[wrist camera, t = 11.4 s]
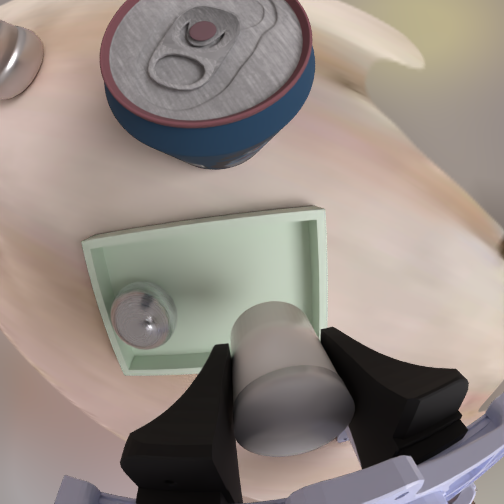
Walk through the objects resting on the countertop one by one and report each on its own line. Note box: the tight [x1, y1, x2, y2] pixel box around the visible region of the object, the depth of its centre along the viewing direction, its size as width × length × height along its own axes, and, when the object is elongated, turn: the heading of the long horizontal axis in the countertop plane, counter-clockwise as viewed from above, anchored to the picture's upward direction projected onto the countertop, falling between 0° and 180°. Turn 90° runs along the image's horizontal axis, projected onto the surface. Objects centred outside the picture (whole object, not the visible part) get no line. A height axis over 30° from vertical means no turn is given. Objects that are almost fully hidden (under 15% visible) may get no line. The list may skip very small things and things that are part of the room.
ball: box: [111, 281, 177, 350], centre depth 17 cm, size 5×5×5 cm
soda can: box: [100, 0, 315, 170], centre depth 11 cm, size 7×7×12 cm
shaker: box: [230, 301, 355, 457], centre depth 11 cm, size 4×4×6 cm
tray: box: [81, 206, 328, 376], centre depth 19 cm, size 16×11×2 cm
